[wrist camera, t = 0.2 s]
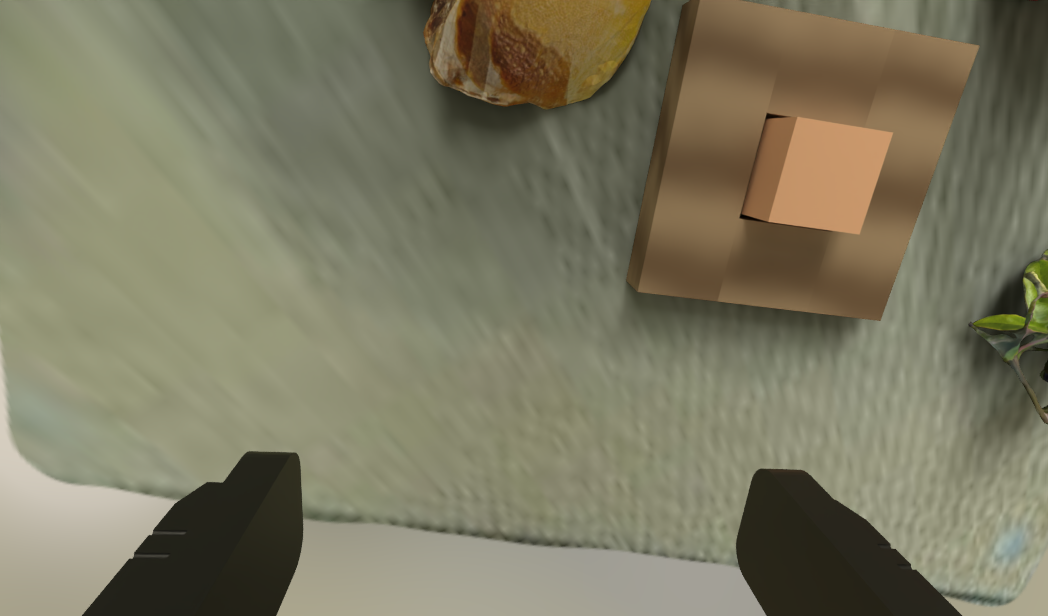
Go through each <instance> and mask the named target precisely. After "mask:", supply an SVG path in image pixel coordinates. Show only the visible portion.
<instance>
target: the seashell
mask: <svg viewBox="0 0 1048 616" xmlns="http://www.w3.org/2000/svg"><path fill="white" fill-rule="evenodd" d="M650 3H651V0H434V2H433V4H432V7H431V16H430V17H429V19H428V21H427V23H426V26H425V29H424V32H423V34H424V37H425V44H426V46H427V48H428V51H429V53H430V56H431V58H430V62H429V66H430V72H431V74H432V75H433V76H434V78H435V79H436V80H437V81H438V83H439V84H441V85H443V86H447V87H451V88H453V89H455V90H458V91H461V92H463V93H465V94H466V95H468V96H471V97H475V98H478V99H481V100H483V101H486V102H489V103H491V104H495V105H500V106H505V107H506V106H511V105H516V104H523V103H532V104H534V105H537V106H539V107H541V108H543V109H544V110H546V109H551V108H555V107H559V106H565V105H567V104H569V103H574V102H577V101H581V100H584V99H587V98H590V97H591V96H592V95H593V94H594V93H595V92H596V91H597V90H598V89H599V88H600V87H601V86H602V85H603V84H604V83H606V82H607V81H608V80H609V79H611V77H612V76H613V75H614V73H615V72H616V71H617V69H618V68H619V66H620V65H621V63H622V62H623V60H624V59H625V57H626V56H627V54H628V53H629V51H630V49H631V47H632V46H633V44H634V42H635V40H636V38H637V36H638V34H639V31H640V28H641V25H642V22H643V19H644V15H645V13H646V12H647V10H648V8H649V6H650Z"/></svg>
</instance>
